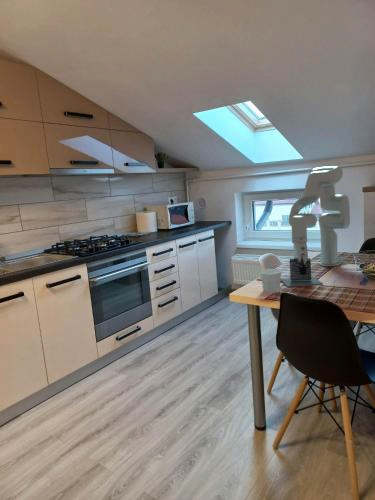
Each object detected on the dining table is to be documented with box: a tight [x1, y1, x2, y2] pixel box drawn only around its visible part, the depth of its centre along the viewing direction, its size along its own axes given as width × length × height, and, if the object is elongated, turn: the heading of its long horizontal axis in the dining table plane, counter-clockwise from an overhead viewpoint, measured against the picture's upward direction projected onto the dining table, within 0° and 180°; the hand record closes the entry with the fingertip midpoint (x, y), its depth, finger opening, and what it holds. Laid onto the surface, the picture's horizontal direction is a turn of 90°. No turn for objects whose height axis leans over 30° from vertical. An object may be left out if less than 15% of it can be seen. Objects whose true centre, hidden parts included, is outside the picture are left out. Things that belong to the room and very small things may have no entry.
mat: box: [280, 275, 324, 288], centre depth 196 cm, size 18×14×1 cm
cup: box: [260, 268, 282, 294], centre depth 185 cm, size 10×10×10 cm
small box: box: [289, 257, 312, 280], centre depth 195 cm, size 11×6×10 cm, turn 72°
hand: (300, 272), depth 195 cm, fingers closed on small box, 7 cm apart
